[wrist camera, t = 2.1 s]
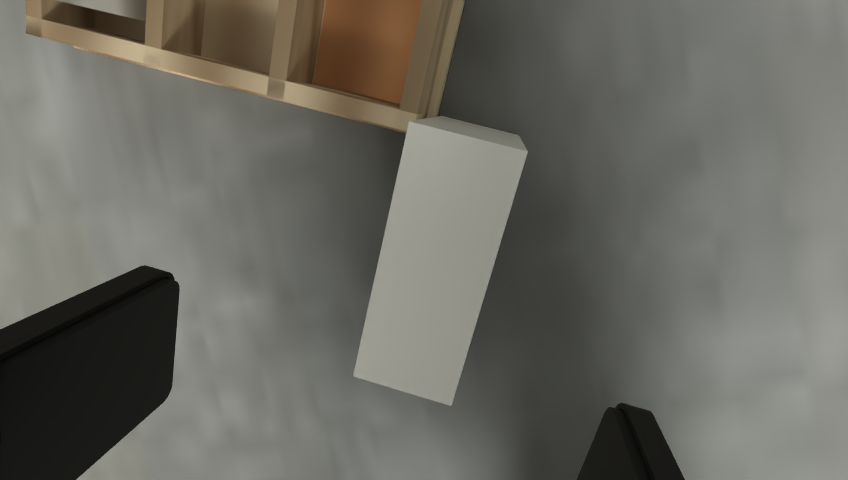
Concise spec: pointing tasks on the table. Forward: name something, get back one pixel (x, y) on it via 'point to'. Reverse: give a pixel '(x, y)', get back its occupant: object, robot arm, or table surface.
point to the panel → (438, 254)
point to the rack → (278, 47)
